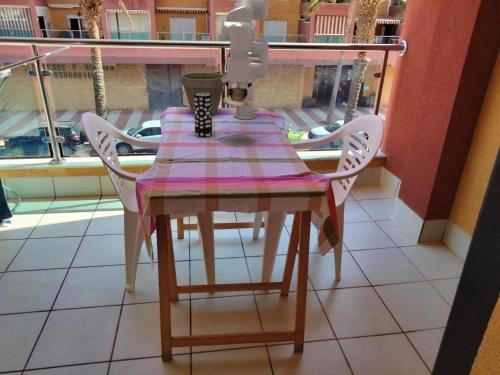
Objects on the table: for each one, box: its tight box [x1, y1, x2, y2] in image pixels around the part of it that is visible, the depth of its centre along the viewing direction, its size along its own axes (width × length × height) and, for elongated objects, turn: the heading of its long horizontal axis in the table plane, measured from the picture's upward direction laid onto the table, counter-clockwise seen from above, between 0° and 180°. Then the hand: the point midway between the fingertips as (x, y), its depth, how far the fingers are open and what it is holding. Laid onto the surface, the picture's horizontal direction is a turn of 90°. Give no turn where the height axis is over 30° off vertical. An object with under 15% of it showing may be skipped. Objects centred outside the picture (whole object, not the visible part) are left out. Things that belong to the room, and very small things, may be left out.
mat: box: [214, 132, 260, 148], centre depth 174 cm, size 15×15×1 cm
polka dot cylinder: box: [193, 93, 213, 139], centre depth 175 cm, size 8×8×20 cm
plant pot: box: [180, 72, 226, 116], centre depth 214 cm, size 25×25×22 cm
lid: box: [223, 86, 252, 107], centre depth 166 cm, size 13×13×6 cm
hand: (238, 97), depth 166 cm, fingers closed on lid, 5 cm apart
